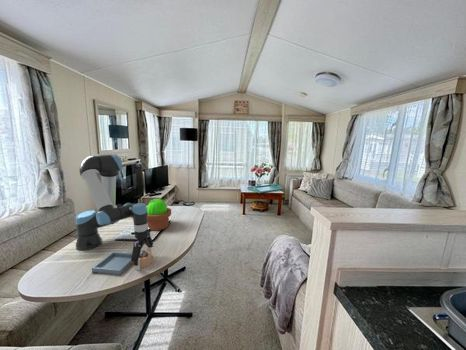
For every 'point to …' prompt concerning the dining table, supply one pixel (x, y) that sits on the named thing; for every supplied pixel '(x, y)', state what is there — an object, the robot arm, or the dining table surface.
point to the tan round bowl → (146, 259)
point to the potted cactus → (158, 214)
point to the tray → (114, 263)
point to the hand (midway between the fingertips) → (143, 263)
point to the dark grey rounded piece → (143, 254)
